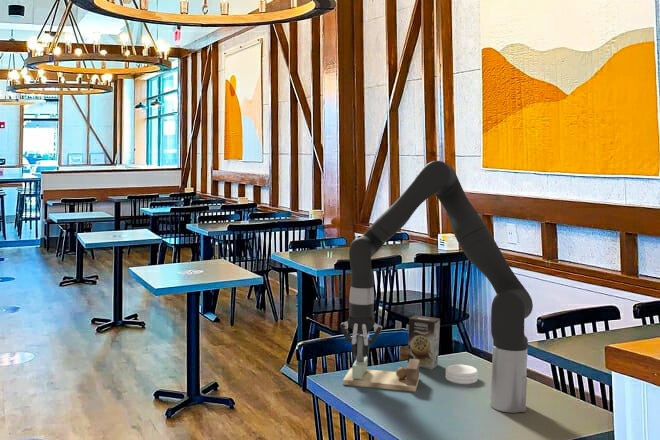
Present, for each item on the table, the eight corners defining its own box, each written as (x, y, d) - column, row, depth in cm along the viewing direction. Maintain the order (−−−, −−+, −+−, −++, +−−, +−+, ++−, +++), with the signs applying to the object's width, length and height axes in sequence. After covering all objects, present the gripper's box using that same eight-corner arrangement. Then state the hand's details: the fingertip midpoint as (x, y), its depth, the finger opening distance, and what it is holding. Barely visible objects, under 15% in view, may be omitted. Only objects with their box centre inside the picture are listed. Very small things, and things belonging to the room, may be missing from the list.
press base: (419, 378, 196) (419, 358, 195) (415, 391, 184) (416, 370, 184) (350, 372, 201) (351, 352, 200) (342, 384, 189) (343, 363, 189)
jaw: (367, 369, 198) (368, 332, 197) (361, 379, 189) (362, 340, 188) (358, 368, 199) (359, 331, 198) (352, 378, 189) (353, 339, 188)
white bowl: (484, 382, 194) (484, 371, 194) (456, 386, 190) (457, 375, 190) (465, 373, 203) (466, 362, 203) (439, 376, 200) (439, 365, 199)
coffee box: (406, 365, 210) (408, 318, 208) (413, 360, 215) (414, 314, 214) (432, 369, 205) (434, 321, 204) (438, 364, 211) (440, 317, 210)
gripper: (385, 300, 194) (384, 354, 196) (342, 297, 197) (340, 350, 199) (382, 305, 187) (380, 361, 188) (337, 301, 190) (335, 357, 191)
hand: (360, 355), depth 193 cm, fingers closed on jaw, 2 cm apart
